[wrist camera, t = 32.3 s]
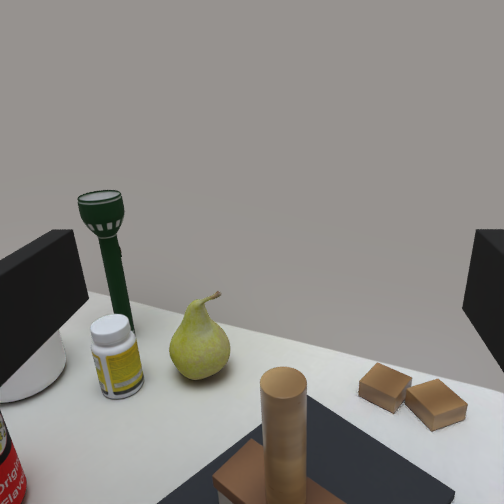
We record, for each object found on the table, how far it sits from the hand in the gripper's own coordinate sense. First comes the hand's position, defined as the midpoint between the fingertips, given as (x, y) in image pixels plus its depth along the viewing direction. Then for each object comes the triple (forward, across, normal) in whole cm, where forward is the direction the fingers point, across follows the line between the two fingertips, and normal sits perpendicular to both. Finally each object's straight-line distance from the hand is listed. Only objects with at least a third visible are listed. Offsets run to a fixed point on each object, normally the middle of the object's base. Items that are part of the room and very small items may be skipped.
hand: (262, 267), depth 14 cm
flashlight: (+32, -23, -26) cm, 48 cm away
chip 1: (+24, +10, -26) cm, 36 cm away
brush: (+7, 0, -25) cm, 26 cm away
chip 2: (+22, +14, -26) cm, 37 cm away
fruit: (+26, -11, -26) cm, 38 cm away
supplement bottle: (+23, -20, -26) cm, 40 cm away
